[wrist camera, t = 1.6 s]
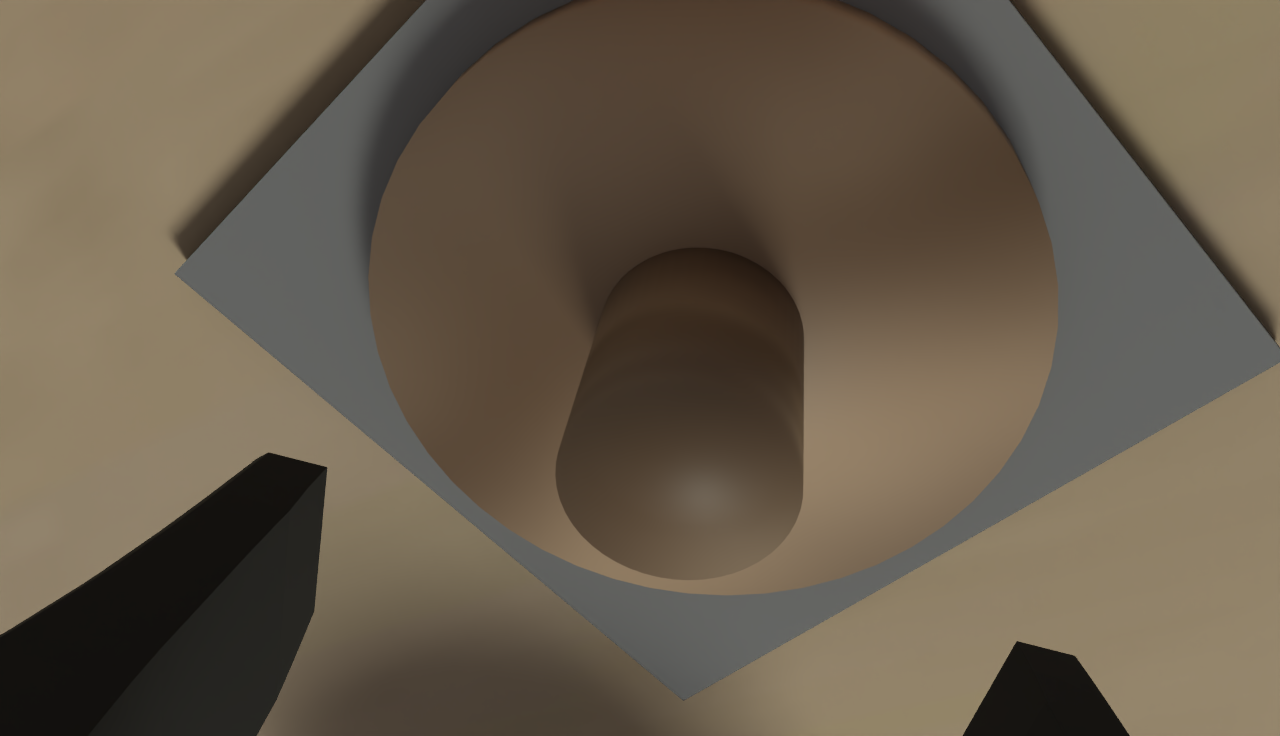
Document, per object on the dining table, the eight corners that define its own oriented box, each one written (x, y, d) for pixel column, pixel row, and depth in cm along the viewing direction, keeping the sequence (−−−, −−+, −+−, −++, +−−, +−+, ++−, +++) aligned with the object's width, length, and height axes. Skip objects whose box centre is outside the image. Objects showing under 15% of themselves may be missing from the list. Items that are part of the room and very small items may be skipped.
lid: (1186, 349, 17) (1293, 541, 13) (687, 646, 21) (662, 851, 17) (732, -204, 14) (705, -155, 10) (259, 281, 18) (121, 435, 14)
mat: (1277, 344, 17) (1286, 358, 16) (685, 685, 22) (683, 700, 22) (743, -343, 13) (741, -343, 13) (185, 262, 18) (174, 273, 18)
